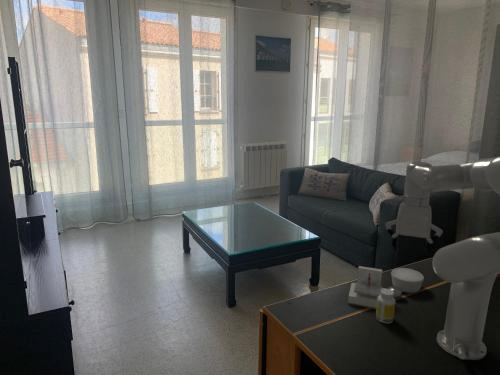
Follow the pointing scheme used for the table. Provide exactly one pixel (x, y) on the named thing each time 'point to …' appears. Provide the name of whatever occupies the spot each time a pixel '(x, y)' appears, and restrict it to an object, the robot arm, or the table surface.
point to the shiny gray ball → (396, 292)
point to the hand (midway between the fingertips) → (410, 250)
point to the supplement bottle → (385, 306)
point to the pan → (367, 289)
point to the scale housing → (368, 277)
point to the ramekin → (407, 279)
